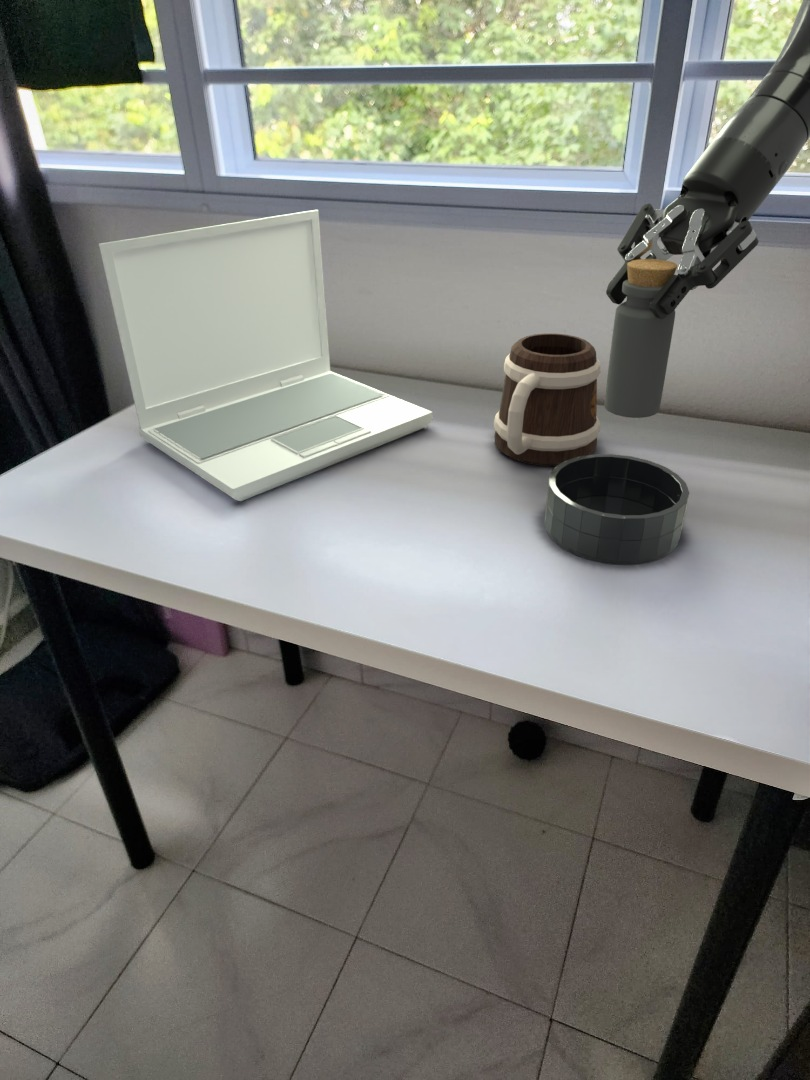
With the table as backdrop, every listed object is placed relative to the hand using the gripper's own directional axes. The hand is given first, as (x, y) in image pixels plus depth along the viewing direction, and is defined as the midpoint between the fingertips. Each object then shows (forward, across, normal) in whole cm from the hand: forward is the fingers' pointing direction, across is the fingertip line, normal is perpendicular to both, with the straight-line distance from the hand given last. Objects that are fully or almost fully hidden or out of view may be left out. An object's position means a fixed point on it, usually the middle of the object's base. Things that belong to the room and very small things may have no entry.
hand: (633, 305), depth 74 cm
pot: (+18, 0, +20) cm, 27 cm away
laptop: (+34, -45, +3) cm, 57 cm away
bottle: (+7, 0, +9) cm, 12 cm away
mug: (+14, -21, +24) cm, 35 cm away
